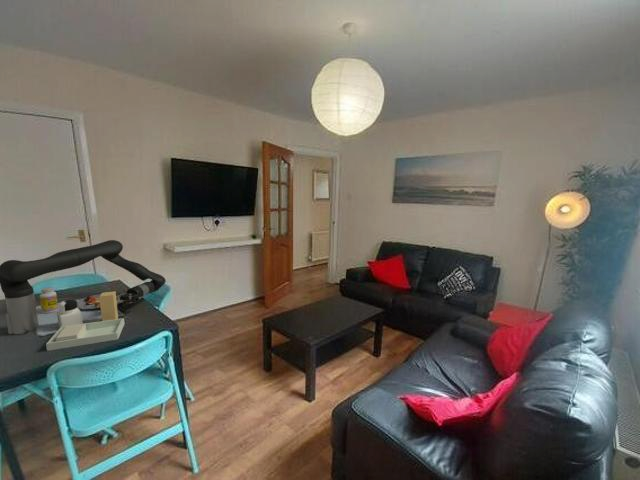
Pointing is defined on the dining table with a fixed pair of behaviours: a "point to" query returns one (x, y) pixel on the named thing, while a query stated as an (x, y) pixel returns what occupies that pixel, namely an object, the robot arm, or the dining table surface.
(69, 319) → the container
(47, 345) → the tray
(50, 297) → the supplement bottle
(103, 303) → the juice carton
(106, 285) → the dining table surface
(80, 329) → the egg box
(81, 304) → the food plate
